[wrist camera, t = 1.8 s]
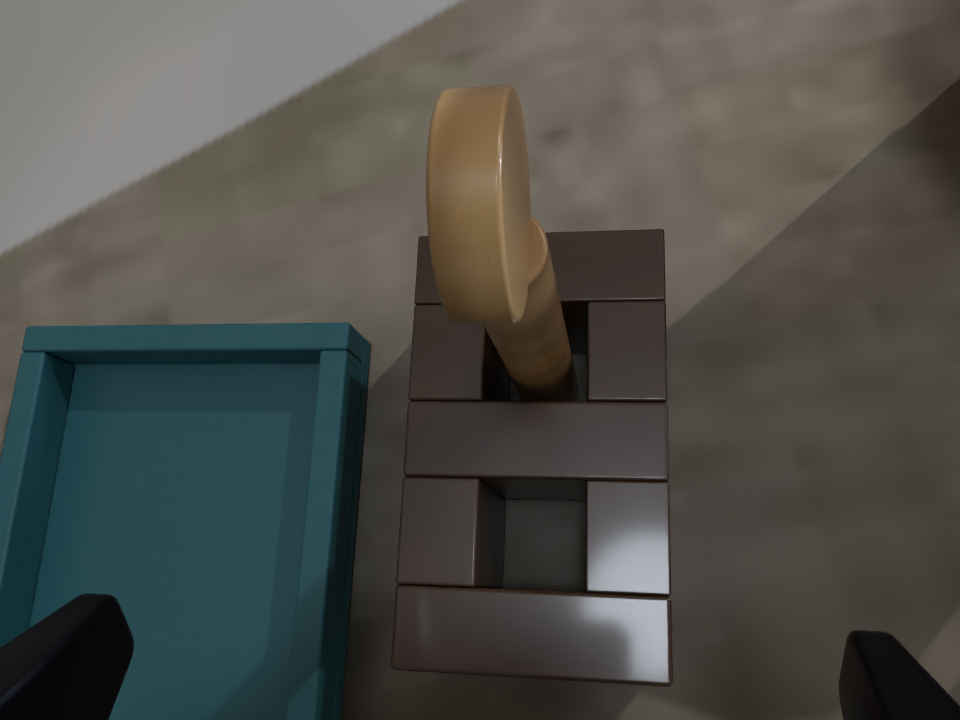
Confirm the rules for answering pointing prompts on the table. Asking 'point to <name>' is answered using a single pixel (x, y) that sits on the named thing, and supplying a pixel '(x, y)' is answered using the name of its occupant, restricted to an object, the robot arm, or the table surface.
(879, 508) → the table surface
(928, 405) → the table surface
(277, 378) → the tray
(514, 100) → the tan round-headed peg
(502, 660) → the slotted brown holder
